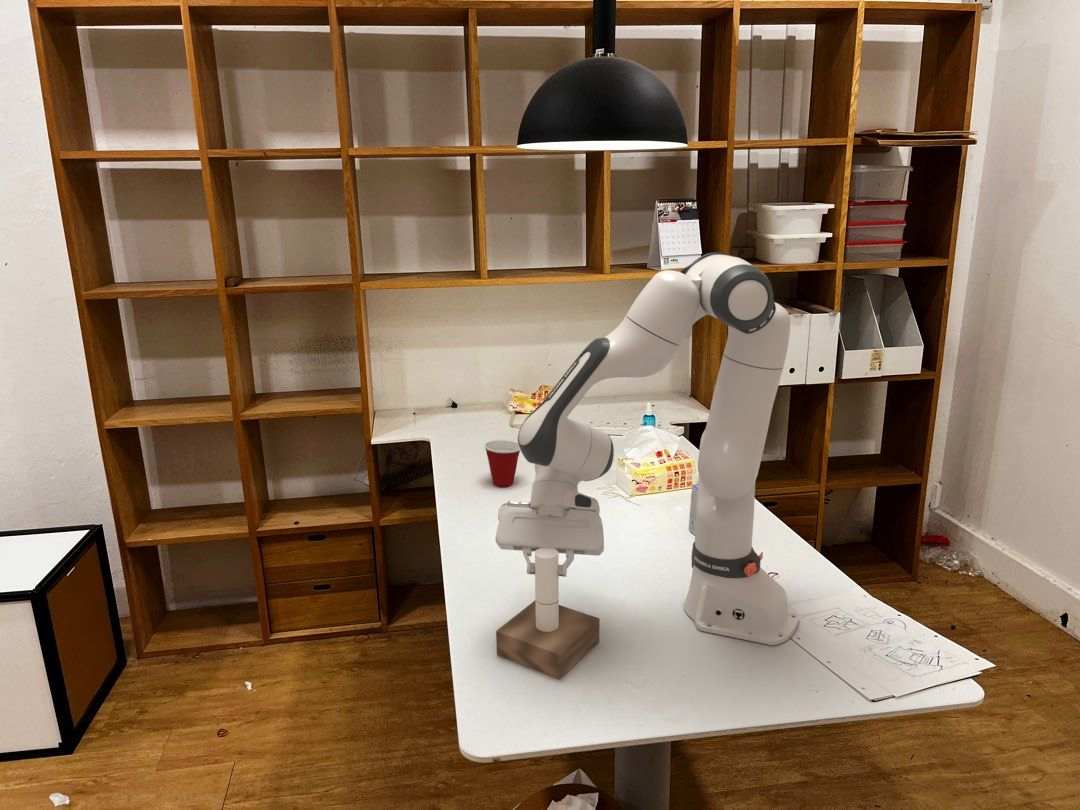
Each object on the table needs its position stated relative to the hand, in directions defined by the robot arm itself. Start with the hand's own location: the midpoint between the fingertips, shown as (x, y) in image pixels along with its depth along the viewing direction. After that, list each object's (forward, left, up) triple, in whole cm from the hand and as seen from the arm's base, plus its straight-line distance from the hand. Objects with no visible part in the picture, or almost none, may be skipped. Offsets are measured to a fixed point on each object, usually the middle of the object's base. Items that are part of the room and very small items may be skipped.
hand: (546, 574), depth 147 cm
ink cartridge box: (-7, -61, -16) cm, 63 cm away
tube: (0, 0, -11) cm, 11 cm away
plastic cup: (+55, -62, -16) cm, 84 cm away
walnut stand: (0, -1, -16) cm, 16 cm away
